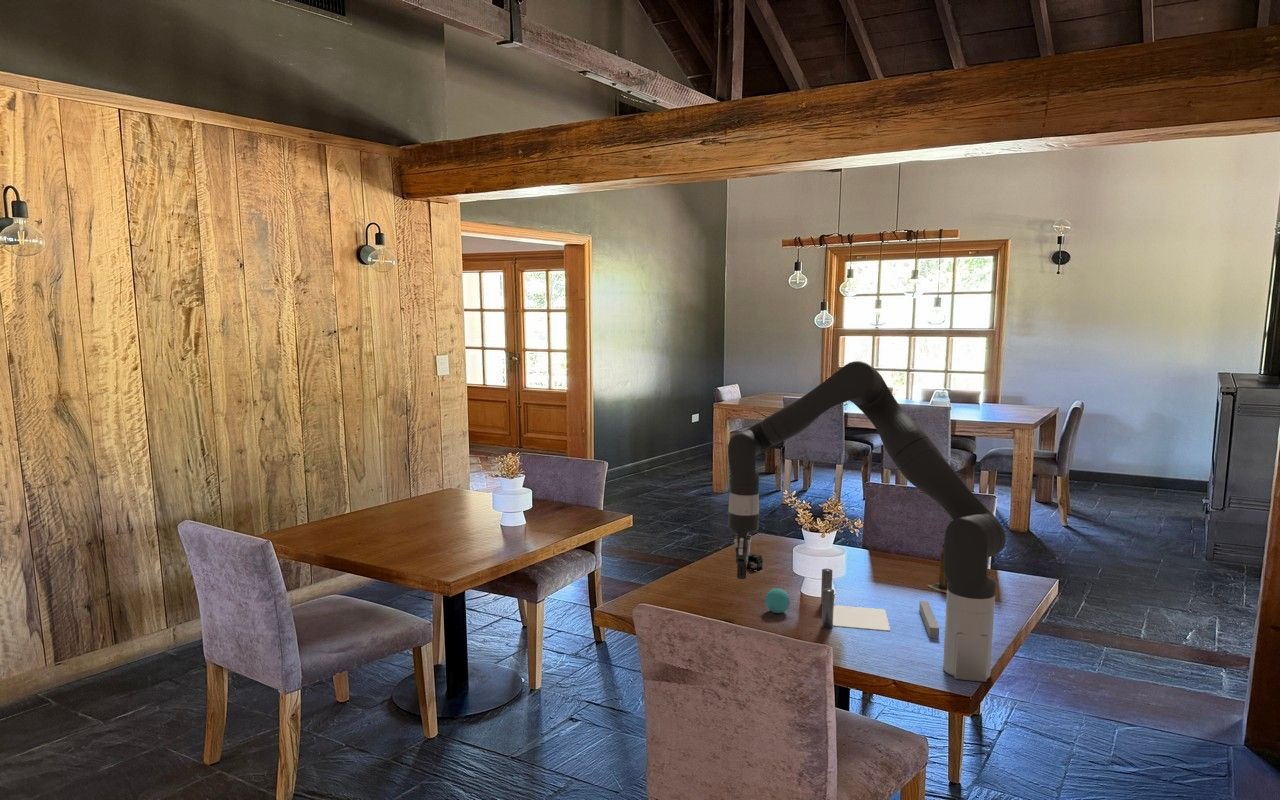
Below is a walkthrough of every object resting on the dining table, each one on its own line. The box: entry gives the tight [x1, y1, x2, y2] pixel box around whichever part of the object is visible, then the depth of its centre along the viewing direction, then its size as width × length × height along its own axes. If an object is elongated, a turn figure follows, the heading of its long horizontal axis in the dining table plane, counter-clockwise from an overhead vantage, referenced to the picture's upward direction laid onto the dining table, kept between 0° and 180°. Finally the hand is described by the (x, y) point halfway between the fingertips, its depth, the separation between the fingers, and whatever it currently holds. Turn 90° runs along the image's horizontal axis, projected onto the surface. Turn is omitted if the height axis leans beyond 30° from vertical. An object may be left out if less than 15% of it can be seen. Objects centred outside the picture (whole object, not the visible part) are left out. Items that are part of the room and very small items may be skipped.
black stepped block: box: [747, 552, 764, 571], centre depth 235 cm, size 12×7×5 cm, turn 52°
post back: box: [820, 568, 833, 606], centre depth 206 cm, size 3×3×9 cm
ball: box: [765, 588, 791, 614], centre depth 200 cm, size 6×6×6 cm
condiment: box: [927, 543, 947, 594], centre depth 219 cm, size 7×8×12 cm
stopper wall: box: [918, 600, 940, 640], centre depth 193 cm, size 18×2×2 cm, turn 168°
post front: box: [821, 588, 835, 630], centre depth 190 cm, size 3×3×9 cm
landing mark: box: [833, 604, 891, 632], centre depth 197 cm, size 14×14×1 cm
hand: (741, 577), depth 201 cm, fingers closed
